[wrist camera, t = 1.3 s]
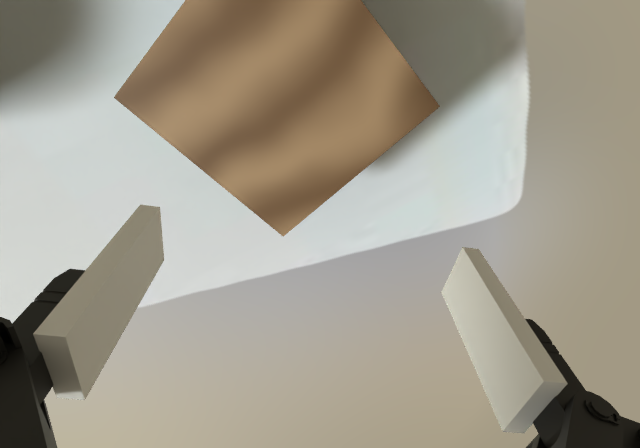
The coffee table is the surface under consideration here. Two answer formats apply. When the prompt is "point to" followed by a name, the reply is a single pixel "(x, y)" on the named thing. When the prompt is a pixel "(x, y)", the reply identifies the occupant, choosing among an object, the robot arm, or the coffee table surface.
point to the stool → (277, 97)
